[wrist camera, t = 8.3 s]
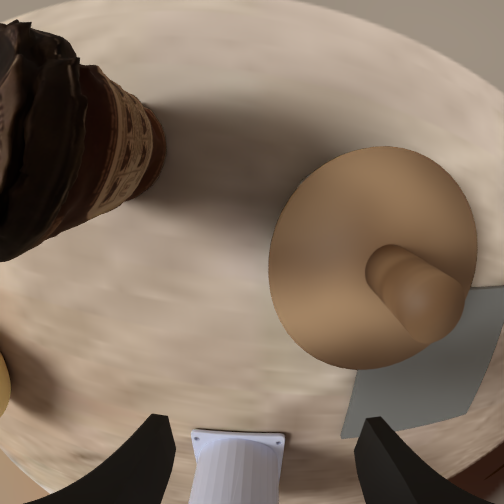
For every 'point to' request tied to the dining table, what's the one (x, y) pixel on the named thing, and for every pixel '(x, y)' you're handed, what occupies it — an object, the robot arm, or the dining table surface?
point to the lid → (372, 258)
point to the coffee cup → (65, 140)
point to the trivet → (432, 372)
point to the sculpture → (4, 386)
